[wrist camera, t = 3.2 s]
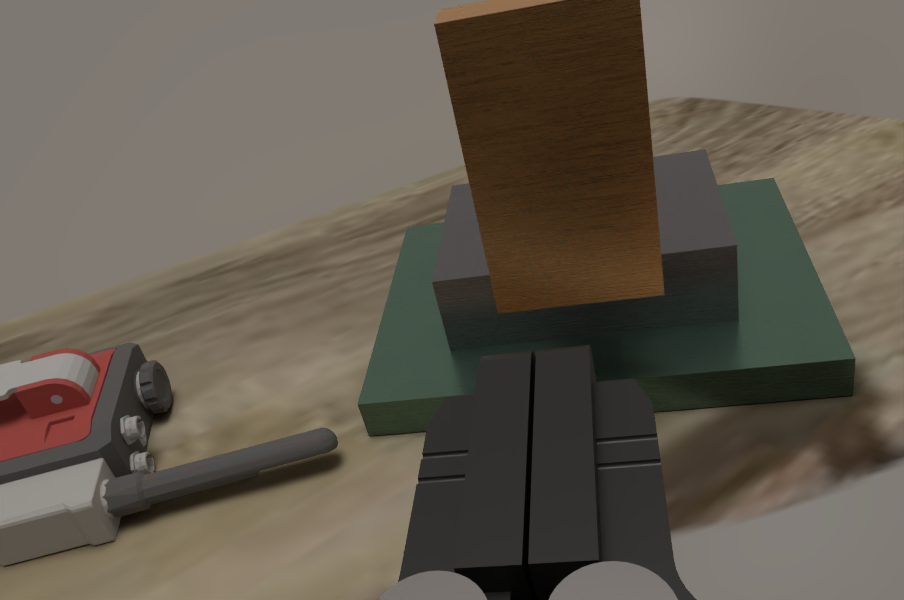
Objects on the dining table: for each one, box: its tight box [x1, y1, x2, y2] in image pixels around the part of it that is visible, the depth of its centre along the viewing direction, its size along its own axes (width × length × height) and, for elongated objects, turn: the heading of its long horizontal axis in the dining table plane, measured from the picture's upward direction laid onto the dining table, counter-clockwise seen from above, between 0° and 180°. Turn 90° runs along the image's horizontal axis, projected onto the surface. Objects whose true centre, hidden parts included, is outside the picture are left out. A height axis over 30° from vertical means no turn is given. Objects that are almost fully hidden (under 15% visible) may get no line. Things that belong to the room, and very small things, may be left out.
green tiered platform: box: [358, 150, 855, 436], centre depth 31 cm, size 16×12×7 cm
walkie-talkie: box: [0, 343, 338, 566], centre depth 31 cm, size 9×4×20 cm
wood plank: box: [434, 0, 665, 314], centre depth 26 cm, size 5×8×9 cm, turn 174°
